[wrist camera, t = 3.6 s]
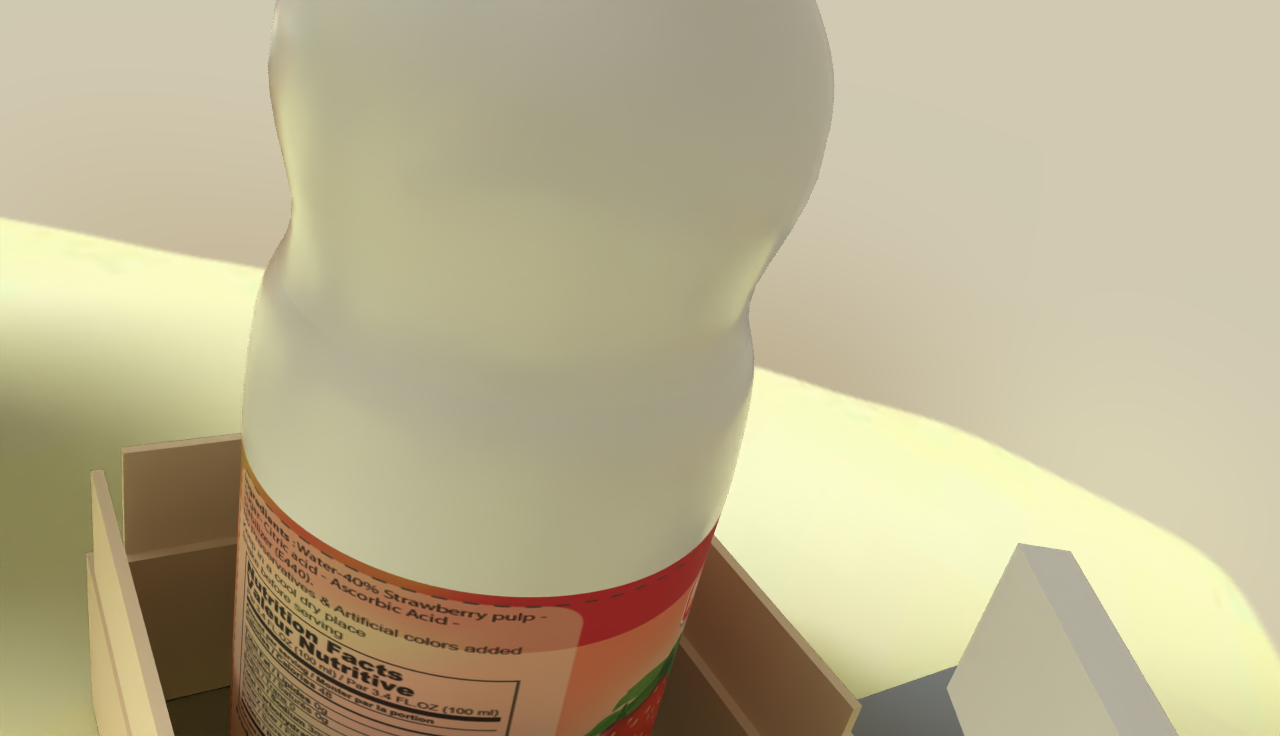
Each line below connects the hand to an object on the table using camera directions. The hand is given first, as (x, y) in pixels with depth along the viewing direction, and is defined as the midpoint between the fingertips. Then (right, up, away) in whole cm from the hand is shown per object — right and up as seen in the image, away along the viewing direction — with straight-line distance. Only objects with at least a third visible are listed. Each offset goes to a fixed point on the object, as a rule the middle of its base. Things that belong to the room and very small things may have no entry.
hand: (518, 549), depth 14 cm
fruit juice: (-4, -9, +13) cm, 17 cm away
